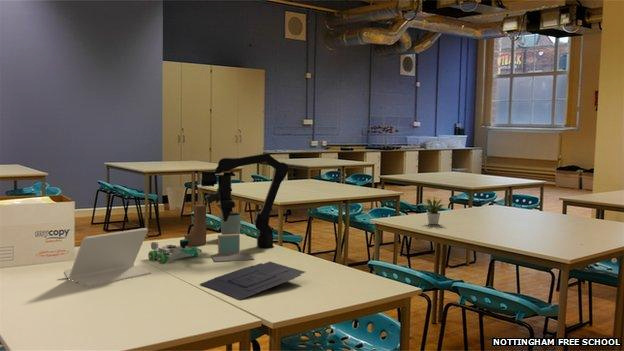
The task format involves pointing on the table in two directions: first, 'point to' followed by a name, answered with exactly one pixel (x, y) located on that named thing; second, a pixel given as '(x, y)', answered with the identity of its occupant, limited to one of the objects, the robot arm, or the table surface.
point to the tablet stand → (108, 258)
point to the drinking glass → (231, 224)
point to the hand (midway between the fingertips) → (224, 221)
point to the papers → (253, 279)
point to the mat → (232, 257)
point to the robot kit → (172, 251)
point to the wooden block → (198, 227)
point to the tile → (228, 244)
